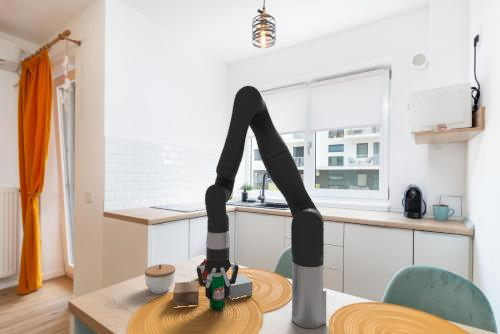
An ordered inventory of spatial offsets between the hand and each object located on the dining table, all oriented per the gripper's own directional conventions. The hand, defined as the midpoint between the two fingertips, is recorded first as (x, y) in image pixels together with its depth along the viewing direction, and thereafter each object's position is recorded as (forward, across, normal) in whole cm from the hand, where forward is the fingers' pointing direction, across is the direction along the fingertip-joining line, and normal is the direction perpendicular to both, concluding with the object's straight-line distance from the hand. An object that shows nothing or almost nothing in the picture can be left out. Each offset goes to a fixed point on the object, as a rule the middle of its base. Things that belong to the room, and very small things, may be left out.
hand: (217, 297), depth 86 cm
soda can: (+4, 0, 0) cm, 4 cm away
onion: (+4, -3, +25) cm, 25 cm away
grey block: (+3, +8, +9) cm, 13 cm away
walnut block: (+3, -10, +6) cm, 12 cm away
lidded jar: (+4, -20, +17) cm, 27 cm away
